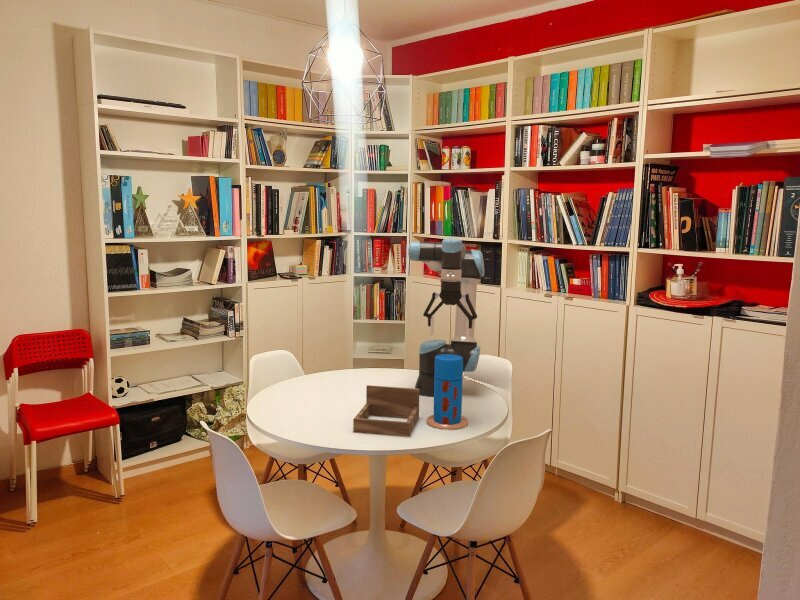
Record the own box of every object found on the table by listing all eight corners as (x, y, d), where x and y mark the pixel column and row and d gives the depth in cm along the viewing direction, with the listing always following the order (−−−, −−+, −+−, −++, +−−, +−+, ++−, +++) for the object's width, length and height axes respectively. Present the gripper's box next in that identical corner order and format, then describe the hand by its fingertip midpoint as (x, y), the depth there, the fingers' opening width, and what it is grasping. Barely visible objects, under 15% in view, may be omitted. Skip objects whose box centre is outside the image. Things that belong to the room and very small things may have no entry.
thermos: (438, 414, 255) (440, 352, 252) (464, 417, 251) (466, 355, 248) (429, 422, 245) (431, 358, 242) (456, 426, 241) (458, 361, 238)
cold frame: (367, 414, 257) (367, 385, 255) (418, 418, 253) (419, 388, 251) (353, 432, 237) (353, 400, 235) (409, 436, 233) (409, 404, 231)
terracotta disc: (429, 414, 258) (429, 412, 258) (469, 417, 255) (469, 415, 255) (423, 428, 242) (423, 425, 242) (465, 431, 239) (465, 428, 239)
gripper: (416, 280, 239) (415, 336, 242) (483, 282, 234) (481, 339, 238) (419, 277, 246) (418, 332, 250) (485, 280, 242) (483, 335, 245)
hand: (449, 335), depth 244 cm, fingers open, 13 cm apart
